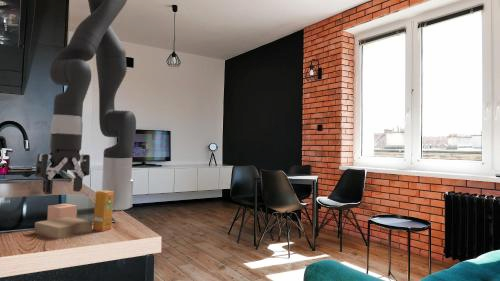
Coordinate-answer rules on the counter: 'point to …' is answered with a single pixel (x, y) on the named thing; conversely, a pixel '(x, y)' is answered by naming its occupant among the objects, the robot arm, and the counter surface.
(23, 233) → the counter surface
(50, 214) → the terracotta block
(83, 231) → the tan flat block
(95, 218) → the supplement box
